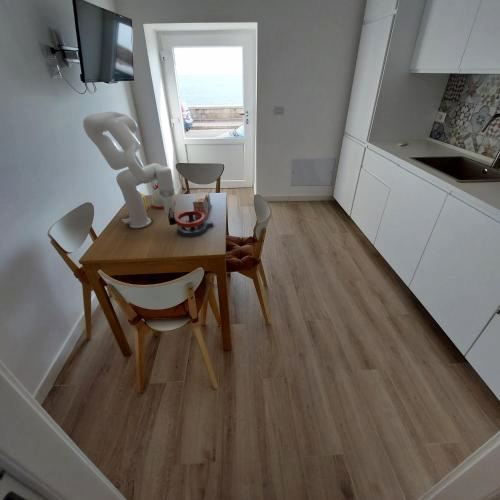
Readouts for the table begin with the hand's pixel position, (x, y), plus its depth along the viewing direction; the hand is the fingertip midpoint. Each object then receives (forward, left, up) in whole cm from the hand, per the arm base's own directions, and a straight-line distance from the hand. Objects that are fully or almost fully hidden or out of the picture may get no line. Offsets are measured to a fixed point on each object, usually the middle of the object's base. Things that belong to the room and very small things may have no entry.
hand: (172, 223), depth 148 cm
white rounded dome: (-3, +41, -6) cm, 42 cm away
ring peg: (+10, -1, -6) cm, 12 cm away
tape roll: (-18, +38, -6) cm, 43 cm away
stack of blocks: (+20, +19, -6) cm, 28 cm away
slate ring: (+12, -1, -6) cm, 13 cm away
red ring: (+8, 0, 0) cm, 8 cm away
